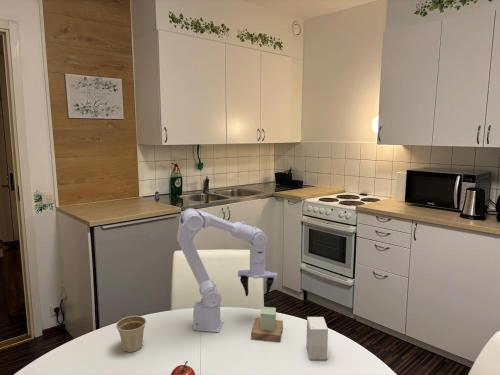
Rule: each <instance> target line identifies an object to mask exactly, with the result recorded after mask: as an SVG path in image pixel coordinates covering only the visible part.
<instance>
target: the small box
mask: <svg viewBox="0 0 500 375" xmlns="http://www.w3.org/2000/svg"><path fill="white" fill-rule="evenodd" d="M328 339H329V328H328V326H327V323H326V319H325V318H324V316H306V349H307V353H308V358H309V361H311V360H313V361H315V360H317V361H321V360H322V361H326V360H328V345H329V344H328V342H329V341H328Z"/></svg>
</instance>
